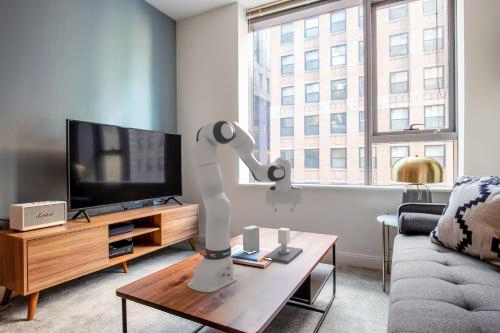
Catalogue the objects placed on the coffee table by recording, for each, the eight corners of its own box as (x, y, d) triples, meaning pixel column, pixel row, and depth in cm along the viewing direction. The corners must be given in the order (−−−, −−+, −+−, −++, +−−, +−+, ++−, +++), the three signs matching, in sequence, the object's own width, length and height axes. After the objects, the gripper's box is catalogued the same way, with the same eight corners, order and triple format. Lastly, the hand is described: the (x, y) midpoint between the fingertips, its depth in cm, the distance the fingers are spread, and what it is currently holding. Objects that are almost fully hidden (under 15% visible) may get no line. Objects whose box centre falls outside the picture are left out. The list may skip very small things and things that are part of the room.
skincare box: (253, 249, 174) (253, 224, 173) (260, 251, 169) (259, 226, 169) (242, 252, 168) (242, 227, 168) (248, 255, 164) (248, 229, 163)
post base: (288, 263, 150) (288, 245, 150) (264, 259, 157) (264, 241, 156) (302, 251, 169) (302, 235, 169) (280, 247, 176) (280, 232, 176)
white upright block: (286, 244, 159) (286, 230, 159) (278, 243, 162) (278, 229, 161) (289, 242, 164) (289, 228, 163) (281, 241, 166) (281, 227, 166)
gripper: (301, 186, 164) (302, 210, 164) (265, 186, 166) (266, 210, 166) (302, 187, 158) (303, 212, 158) (265, 187, 159) (265, 212, 160)
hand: (283, 211), depth 162 cm, fingers open, 8 cm apart
